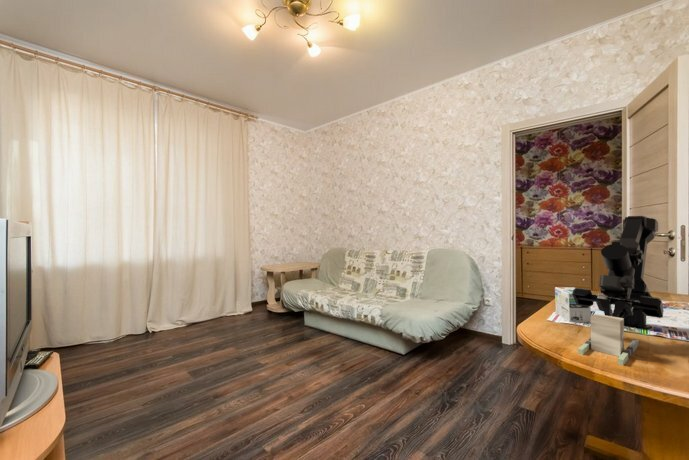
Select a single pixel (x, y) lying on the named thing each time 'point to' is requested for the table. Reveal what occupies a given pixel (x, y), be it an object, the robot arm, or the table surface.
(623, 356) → the channel
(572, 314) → the light bulb box
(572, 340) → the table surface
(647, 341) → the table surface
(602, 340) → the cream block
